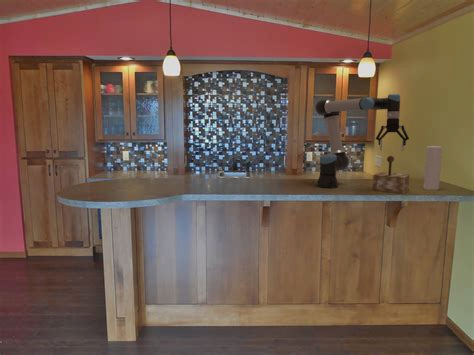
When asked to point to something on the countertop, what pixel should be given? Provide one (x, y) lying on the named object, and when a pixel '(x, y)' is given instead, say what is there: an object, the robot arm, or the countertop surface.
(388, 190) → the brown wooden box
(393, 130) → the robot arm
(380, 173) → the wooden lid with knob
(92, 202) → the countertop surface
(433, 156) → the cylinder container
